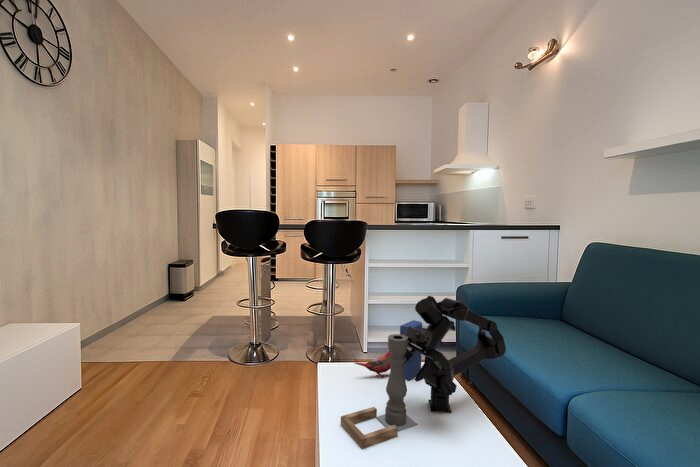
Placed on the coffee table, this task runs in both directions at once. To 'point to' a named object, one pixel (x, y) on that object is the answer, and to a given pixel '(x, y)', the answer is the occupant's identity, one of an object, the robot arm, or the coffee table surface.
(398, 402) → the candle holder
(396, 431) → the wooden u-shaped frame
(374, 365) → the decorative bird figurine
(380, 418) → the mat
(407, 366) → the electronic device
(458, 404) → the coffee table surface
